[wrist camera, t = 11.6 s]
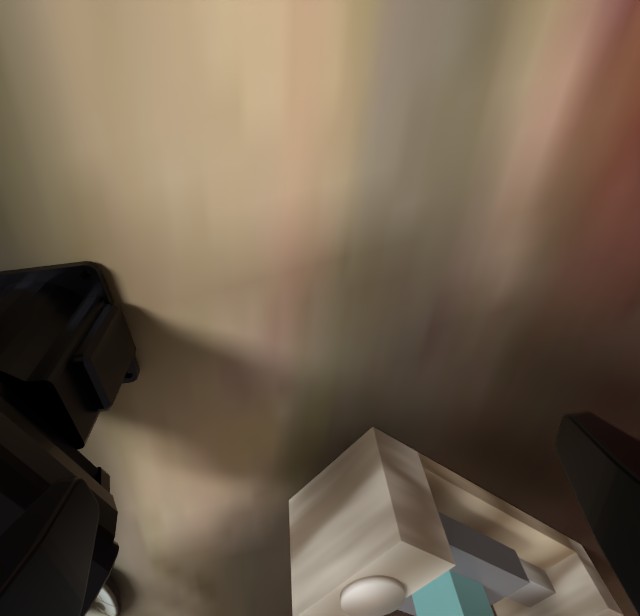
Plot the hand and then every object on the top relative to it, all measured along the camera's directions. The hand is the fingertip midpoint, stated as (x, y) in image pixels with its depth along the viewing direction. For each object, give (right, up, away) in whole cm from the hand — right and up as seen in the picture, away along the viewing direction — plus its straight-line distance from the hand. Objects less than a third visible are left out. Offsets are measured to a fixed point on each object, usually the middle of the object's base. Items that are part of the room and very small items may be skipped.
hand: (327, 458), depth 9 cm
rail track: (+9, -13, +24) cm, 28 cm away
